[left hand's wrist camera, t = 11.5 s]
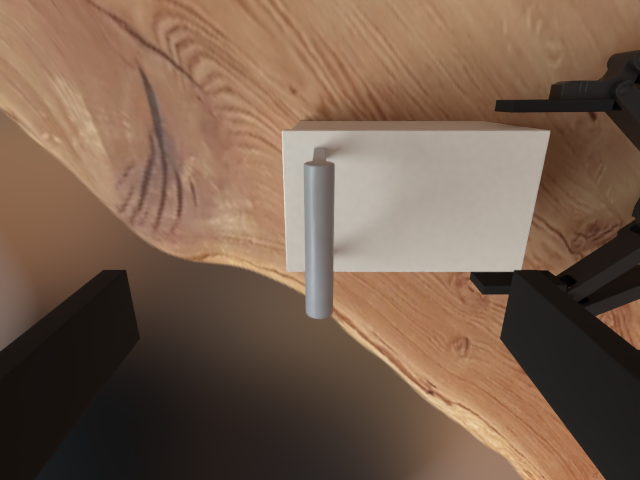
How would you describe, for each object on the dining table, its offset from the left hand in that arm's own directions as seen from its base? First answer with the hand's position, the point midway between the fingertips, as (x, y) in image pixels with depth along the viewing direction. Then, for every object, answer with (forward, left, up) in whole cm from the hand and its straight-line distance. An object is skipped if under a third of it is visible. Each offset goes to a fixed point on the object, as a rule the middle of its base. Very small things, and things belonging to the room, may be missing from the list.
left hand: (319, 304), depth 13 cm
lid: (-3, +5, -13) cm, 15 cm away
